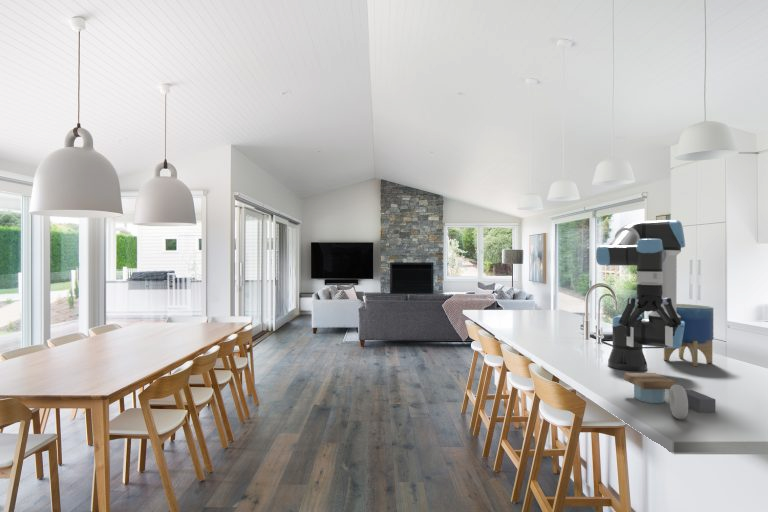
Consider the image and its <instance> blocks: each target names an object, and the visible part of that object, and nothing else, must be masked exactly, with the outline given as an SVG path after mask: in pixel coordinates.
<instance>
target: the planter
mask: <svg viewBox="0 0 768 512" xmlns="http://www.w3.org/2000/svg"><path fill="white" fill-rule="evenodd" d="M676 312H677V314H678V315H680V316H681V321H684V322H685V327H684V334H683V339H682V344H681V346H680V347H679V348H666V347H663V360H664V361H665V360H669V361H670V357H671V355H672V354H673V353H674V352H675V351H676V350H677V349H678V358H679V357H680V358H679V359H684V353H685V349H686V348H688V350H689V353H690V356H691V361H692V363H691V364H692V366H693V367H694V366H698V365H699V364H698V362H699V361H698V357H699V356H698V355H699V354H698V350H699V352H701V353H702V354H703V355H704V357H705V360H706V361H705V363H706V364H708V363H712V364H713V340H714V307H713V306H710V305H704V304H703V305H701V304H689V303H687V304H686V303H676ZM698 367H699V366H698Z"/></svg>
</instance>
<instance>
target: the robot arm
mask: <svg viewBox="0 0 768 512" xmlns="http://www.w3.org/2000/svg"><path fill="white" fill-rule="evenodd" d="M683 248H686V240H685V234H684V228H683V224H682V222H681V221H680V220H678V219H677V220H676V219H663V220H662V219H661V220H640V221H635V222H631V223H629V224H627V225H624V226H623V227H621V228H619V229H618V230H617V231H616V233H615V235H614V239H613V240H612V241H611V242H610V243H609V244H608V245H599V246H597V247H596V252H595V258H596V263H597V265H600V266H607V267H608V266H626V267H627V266H631V267H632V266H634V267H636V283H637V284H636V296H637V297H636V298H634V297H628V298H627V304H626V306H625V307H624V310H623V312H622V314H619V315H615V316H614V317H613V319H612V325H611V327H612V349H611V352H610V355H609V358H608V360H607V362H608V363H607V365H608V366H609V367H610V368H614V369H617V370H623V371H628V372H630V371H631V372H644V371H645V372H646V371H647V370H648V362H647V359H646V357H645V353H644V351H643V350H644V349H643V346H649V347H660V348H664V347H666V348H677V349H679V347H680V346H681V344H682V339H683V334H684V327H685V322H684V321H681V316H680V315H678V314H677V312H676V304H677V280H678V279H677V274H678V273H677V272H678V271H677V256H678V255H679V254H680V253H681V251H682V249H683ZM636 305H637V306H636ZM635 306H636V307H635ZM645 312H649V313H648V315H647V316H648V317H647V318H646V317H645V318H644V316H643V314H644V313H645Z"/></svg>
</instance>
